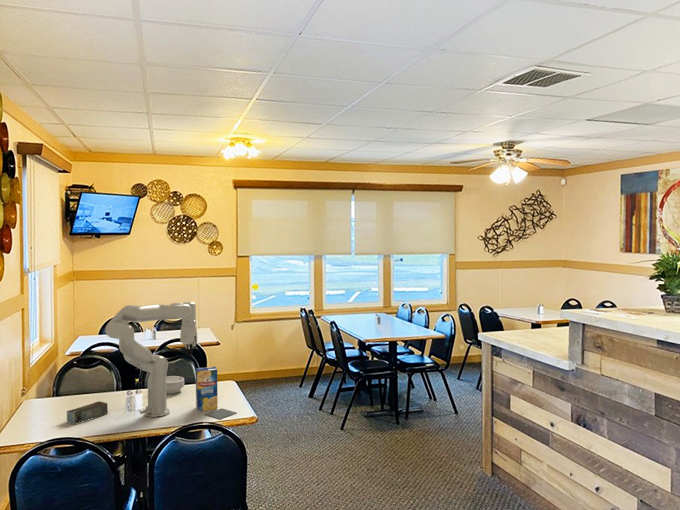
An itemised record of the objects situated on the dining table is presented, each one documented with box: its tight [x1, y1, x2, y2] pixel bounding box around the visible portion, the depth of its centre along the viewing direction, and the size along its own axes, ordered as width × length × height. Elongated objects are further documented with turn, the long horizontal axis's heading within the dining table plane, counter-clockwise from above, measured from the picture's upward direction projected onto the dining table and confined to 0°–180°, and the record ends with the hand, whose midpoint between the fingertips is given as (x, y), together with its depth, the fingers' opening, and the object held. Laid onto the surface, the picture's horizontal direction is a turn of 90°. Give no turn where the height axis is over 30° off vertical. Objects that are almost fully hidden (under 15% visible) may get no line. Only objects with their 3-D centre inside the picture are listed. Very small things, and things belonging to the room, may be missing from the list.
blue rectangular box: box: [195, 366, 218, 412], centre depth 299 cm, size 7×11×22 cm, turn 111°
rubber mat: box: [204, 407, 237, 420], centre depth 289 cm, size 12×12×1 cm
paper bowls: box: [166, 375, 185, 395], centre depth 330 cm, size 15×15×8 cm
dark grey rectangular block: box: [66, 401, 109, 425], centre depth 283 cm, size 8×19×7 cm, turn 149°
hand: (189, 355), depth 307 cm, fingers closed
